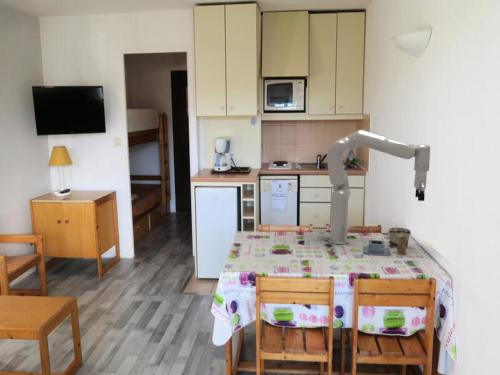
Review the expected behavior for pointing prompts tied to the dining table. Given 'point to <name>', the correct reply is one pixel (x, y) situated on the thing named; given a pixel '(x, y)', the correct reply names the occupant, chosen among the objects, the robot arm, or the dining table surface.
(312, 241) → the dining table surface
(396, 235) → the food container
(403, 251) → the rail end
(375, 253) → the cup bracket
